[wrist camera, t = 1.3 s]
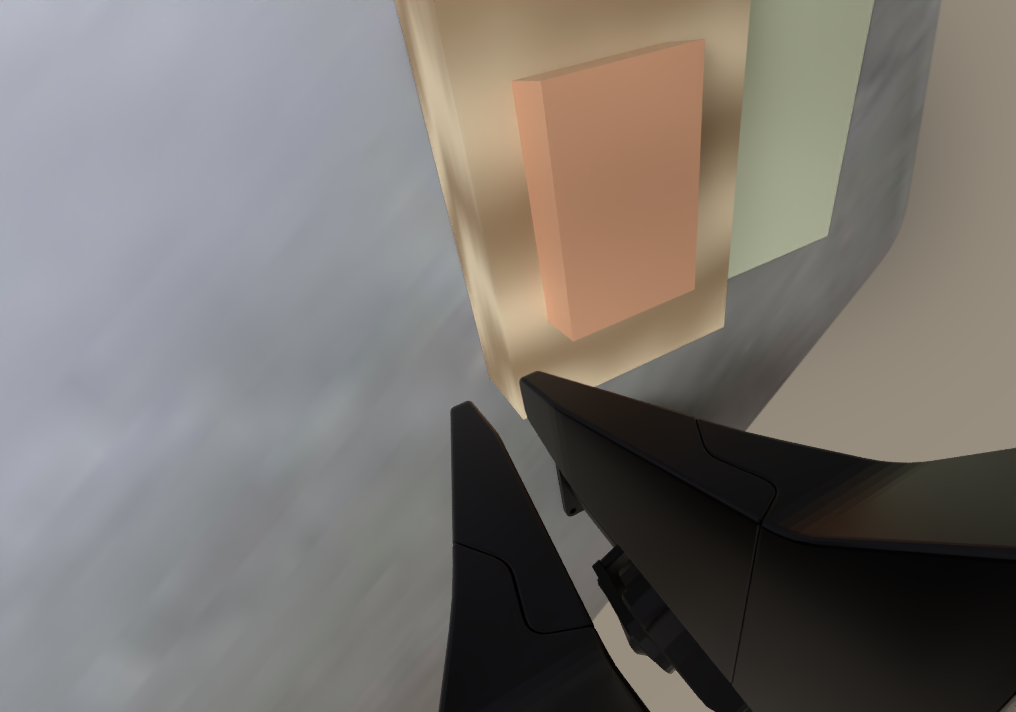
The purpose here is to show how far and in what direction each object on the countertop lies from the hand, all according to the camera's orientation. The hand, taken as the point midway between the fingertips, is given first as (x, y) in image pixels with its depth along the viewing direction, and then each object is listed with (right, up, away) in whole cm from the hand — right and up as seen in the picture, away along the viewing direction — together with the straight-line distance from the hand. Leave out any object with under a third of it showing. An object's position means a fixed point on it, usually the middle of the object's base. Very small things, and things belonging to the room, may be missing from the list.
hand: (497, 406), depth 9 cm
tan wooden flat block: (+3, +9, +13) cm, 16 cm away
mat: (+14, +14, +16) cm, 26 cm away
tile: (+4, +7, +9) cm, 12 cm away
